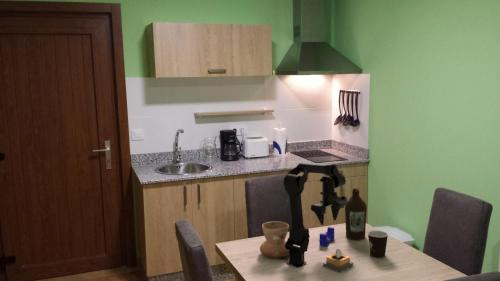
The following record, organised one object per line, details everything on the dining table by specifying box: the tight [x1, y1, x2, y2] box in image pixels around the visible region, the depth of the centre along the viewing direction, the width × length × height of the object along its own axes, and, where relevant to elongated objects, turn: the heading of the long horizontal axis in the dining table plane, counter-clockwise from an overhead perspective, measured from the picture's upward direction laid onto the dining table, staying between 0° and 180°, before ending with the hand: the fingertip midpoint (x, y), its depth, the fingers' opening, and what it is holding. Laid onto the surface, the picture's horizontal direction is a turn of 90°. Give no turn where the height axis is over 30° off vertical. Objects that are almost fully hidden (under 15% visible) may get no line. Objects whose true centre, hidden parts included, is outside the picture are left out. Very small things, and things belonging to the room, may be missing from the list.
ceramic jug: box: [259, 220, 290, 259], centre depth 207 cm, size 18×14×14 cm
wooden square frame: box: [325, 252, 351, 267], centre depth 193 cm, size 7×7×2 cm
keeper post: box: [322, 248, 354, 273], centre depth 193 cm, size 9×9×8 cm
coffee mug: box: [367, 230, 389, 259], centre depth 205 cm, size 12×9×10 cm
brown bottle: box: [344, 187, 368, 241], centre depth 226 cm, size 11×11×25 cm
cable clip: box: [319, 226, 335, 248], centre depth 222 cm, size 12×4×6 cm, turn 149°
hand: (328, 222), depth 212 cm, fingers open, 9 cm apart
